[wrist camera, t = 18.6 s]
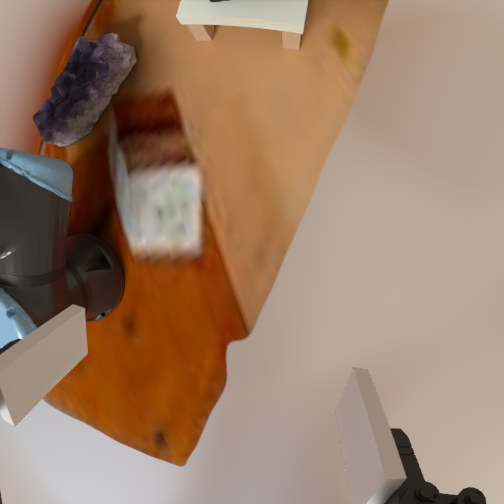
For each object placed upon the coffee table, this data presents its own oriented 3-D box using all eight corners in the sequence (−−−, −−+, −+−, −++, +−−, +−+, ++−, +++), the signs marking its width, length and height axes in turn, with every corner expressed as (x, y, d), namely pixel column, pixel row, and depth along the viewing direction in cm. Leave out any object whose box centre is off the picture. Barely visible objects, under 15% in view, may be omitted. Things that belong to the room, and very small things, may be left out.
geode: (91, 163, 46) (47, 161, 36) (56, 135, 47) (15, 131, 37) (152, 52, 40) (115, 29, 30) (109, 36, 41) (73, 16, 31)
